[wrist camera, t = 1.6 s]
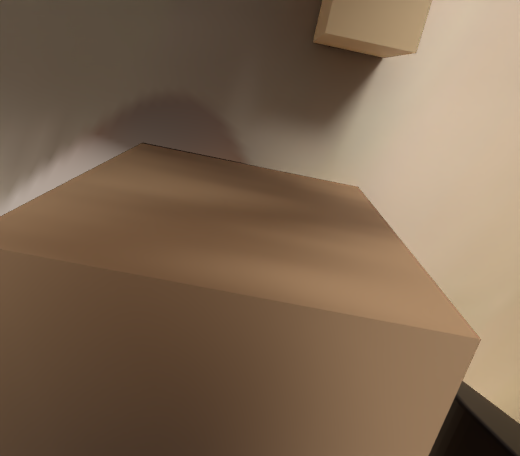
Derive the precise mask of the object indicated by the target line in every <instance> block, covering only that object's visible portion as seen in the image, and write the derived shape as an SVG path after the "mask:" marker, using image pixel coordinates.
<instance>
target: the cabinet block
mask: <svg viewBox="0 0 520 456" xmlns="http://www.w3.org/2000/svg"><path fill="white" fill-rule="evenodd" d="M480 341H481V339H480V337H479V336H478V335H477V334H476V333H475V331H474V330H473V329H472V328H471V326H470V325H469V324H468V323H467V321H466V320H465V319H464V318H463V316H462V315H461V314H460V313H459V311H458V310H457V309H456V308H455V306H454V305H453V304H452V303H451V302H450V300H449V299H448V298H447V297H446V295H445V294H444V293H443V292H442V290H441V289H440V288H439V287H438V285H437V284H436V283H435V282H434V280H433V279H432V278H431V277H430V275H429V274H428V273H427V272H426V271H425V269H424V268H423V267H422V266H421V264H420V263H419V262H418V261H417V259H416V258H415V257H414V256H413V254H412V253H411V252H410V251H409V249H408V248H407V247H406V246H405V244H404V243H403V242H402V241H401V240H400V238H399V237H398V236H397V235H396V233H395V232H394V231H393V230H392V228H391V227H390V226H389V225H388V223H387V222H386V221H385V220H384V218H383V217H382V216H381V215H380V214H379V212H378V211H377V210H376V209H375V207H374V206H373V205H372V204H371V202H370V201H369V200H368V199H367V197H366V196H365V195H364V194H363V192H362V191H361V190H360V189H359V187H355V186H350V185H345V184H340V183H336V182H331V181H326V180H321V179H316V178H311V177H306V176H301V175H296V174H291V173H286V172H281V171H276V170H272V169H267V168H262V167H257V166H252V165H248V164H246V163H241V162H236V161H231V160H226V159H221V158H216V157H211V156H207V155H202V154H196V153H192V152H187V151H181V150H177V149H172V148H167V147H162V146H157V145H153V144H147V143H141V144H139V145H137V146H135V147H133V148H131V149H129V150H127V151H125V152H124V153H121V154H120V155H118V156H116V157H114V158H112V159H110V160H108V161H106V162H104V163H102V164H100V165H98V166H97V167H95V168H93V169H91V170H89V171H87V172H85V173H83V174H81V175H79V176H77V177H75V178H73V179H71V180H70V181H68V182H66V183H64V184H62V185H60V186H58V187H56V188H54V189H52V190H50V191H48V192H46V193H44V194H43V195H41V196H39V197H37V198H35V199H33V200H31V201H29V202H28V203H25V204H23V205H21V206H19V207H18V208H16V209H14V210H12V211H10V212H8V213H6V214H4V215H2V216H0V456H429V453H430V451H431V449H432V447H433V444H434V442H435V440H436V438H437V436H438V433H439V431H440V429H441V427H442V425H443V422H444V420H445V418H446V416H447V414H448V411H449V409H450V407H451V405H452V402H453V400H454V398H455V396H456V394H457V391H458V389H459V387H460V385H461V383H462V380H463V378H464V376H465V374H466V372H467V369H468V367H469V365H470V363H471V360H472V358H473V356H474V354H475V352H476V349H477V347H478V345H479V343H480Z"/></svg>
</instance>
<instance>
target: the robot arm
mask: <svg viewBox="0 0 520 456" xmlns="http://www.w3.org/2000/svg"><path fill="white" fill-rule="evenodd" d="M429 456H520V424H519V423H518V422H516V421H515V420H514V419H512V418H511V417H510V416H508V415H507V414H506V413H504V412H503V411H502V410H500V409H499V408H498V407H496V406H495V405H494V404H492V403H491V402H490V401H489V400H487V399H486V398H485V397H483V396H482V395H481V394H479V393H478V392H477V391H475V390H474V389H473V388H471V387H470V386H469V385H467V384H466V383H465V382H463V381H462V383H461V385H460V387H459V389H458V391H457V394H456V396H455V398H454V400H453V402H452V405H451V407H450V409H449V411H448V414H447V416H446V418H445V420H444V422H443V425H442V427H441V429H440V431H439V433H438V436H437V438H436V440H435V442H434V444H433V447H432V449H431V451H430V453H429Z"/></svg>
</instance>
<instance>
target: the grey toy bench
mask: <svg viewBox="0 0 520 456" xmlns="http://www.w3.org/2000/svg"><path fill="white" fill-rule="evenodd" d="M431 2H432V0H322V4H321V8H320V13H319V17H318V22H317V26H316V31H315V35H314V39H313V42H314V43H318V44H323V45H328V46H332V47H337V48H341V49H346V50H350V51H355V52H360V53H364V54H369V55H373V56H378V57H382V58H386V57H393V56H399V55H406V54H412V53H416V51H417V48H418V45H419V42H420V38H421V35H422V32H423V29H424V25H425V22H426V19H427V15H428V12H429V9H430V6H431Z"/></svg>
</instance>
